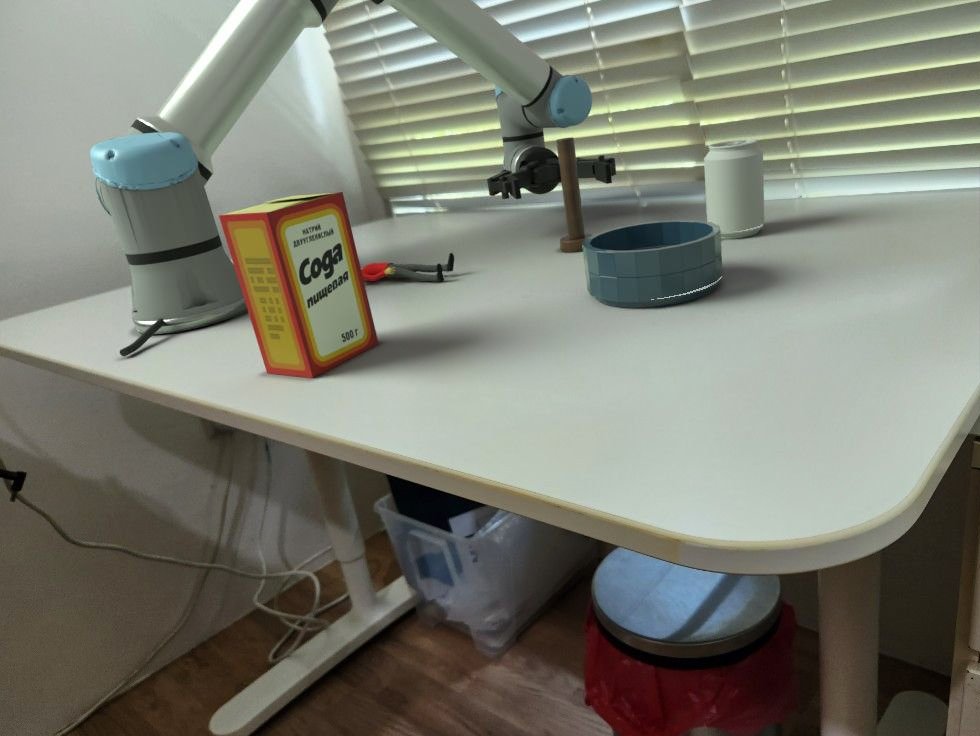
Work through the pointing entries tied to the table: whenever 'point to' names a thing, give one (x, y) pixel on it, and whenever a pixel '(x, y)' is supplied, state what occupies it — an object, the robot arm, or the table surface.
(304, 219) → the baking soda box
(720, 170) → the can
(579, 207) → the muddler
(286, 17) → the robot arm
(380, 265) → the person figure
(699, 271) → the bowl
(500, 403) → the table surface
